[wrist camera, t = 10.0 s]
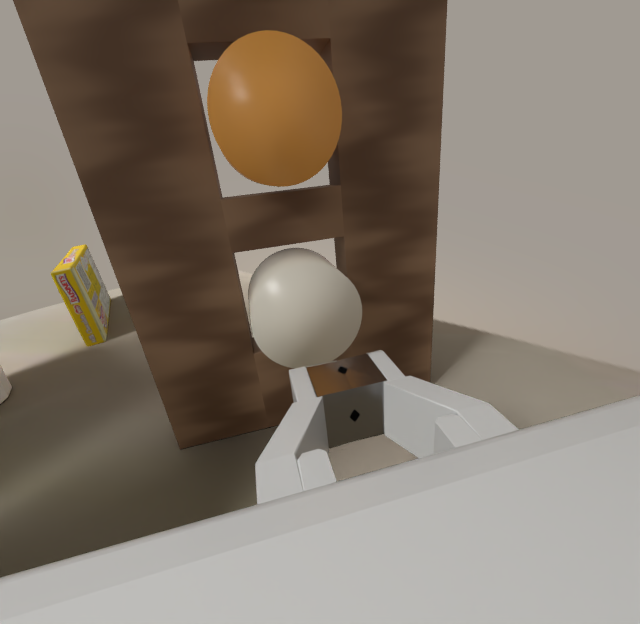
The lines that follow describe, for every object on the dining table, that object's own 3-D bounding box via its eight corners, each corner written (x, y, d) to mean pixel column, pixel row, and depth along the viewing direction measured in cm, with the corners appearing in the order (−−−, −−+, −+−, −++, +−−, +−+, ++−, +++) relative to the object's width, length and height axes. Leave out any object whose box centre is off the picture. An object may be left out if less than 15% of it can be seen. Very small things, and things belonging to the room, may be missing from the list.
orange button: (224, 193, 13) (191, 32, 11) (227, 190, 16) (201, 66, 14) (346, 179, 13) (336, 28, 11) (325, 179, 17) (315, 60, 15)
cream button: (262, 379, 15) (240, 274, 13) (257, 344, 18) (239, 255, 16) (364, 356, 16) (359, 255, 14) (343, 326, 19) (336, 241, 17)
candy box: (94, 304, 46) (70, 246, 42) (111, 300, 47) (89, 243, 43) (83, 349, 33) (47, 270, 29) (107, 342, 34) (75, 265, 30)
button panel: (180, 449, 19) (-219, -623, 7) (196, 374, 26) (18, -206, 14) (429, 387, 21) (467, -447, 9) (381, 335, 29) (367, -175, 17)
